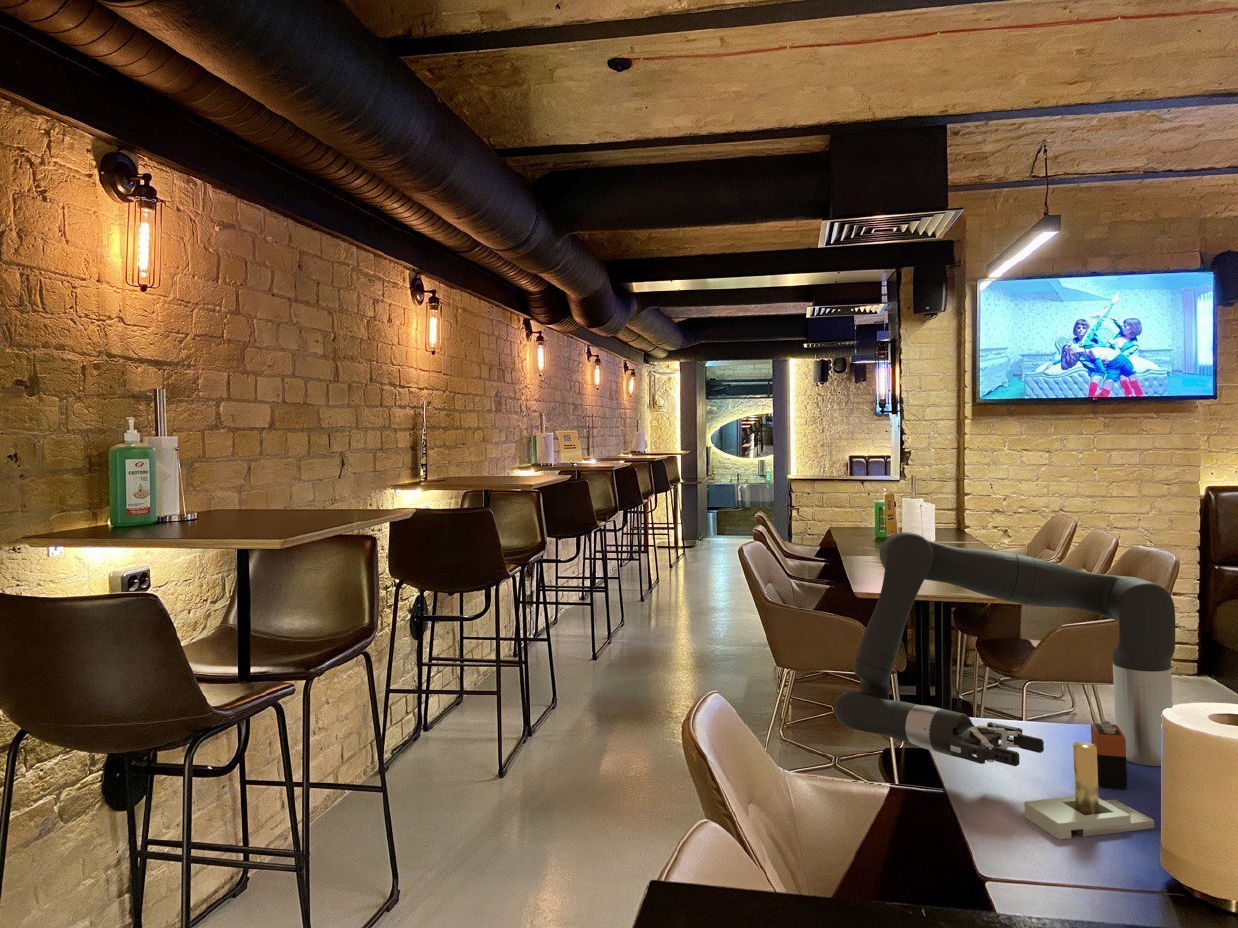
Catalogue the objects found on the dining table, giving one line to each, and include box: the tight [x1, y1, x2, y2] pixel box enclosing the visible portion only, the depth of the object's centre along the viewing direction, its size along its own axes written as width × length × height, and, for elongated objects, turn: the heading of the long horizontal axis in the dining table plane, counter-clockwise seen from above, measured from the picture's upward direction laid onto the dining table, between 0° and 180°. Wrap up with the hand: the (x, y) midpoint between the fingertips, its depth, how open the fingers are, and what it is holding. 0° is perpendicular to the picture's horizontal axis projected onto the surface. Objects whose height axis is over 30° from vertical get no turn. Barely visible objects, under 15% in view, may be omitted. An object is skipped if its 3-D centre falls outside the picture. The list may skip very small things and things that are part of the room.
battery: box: [1090, 720, 1128, 790], centre depth 142 cm, size 4×7×10 cm, turn 158°
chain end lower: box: [1073, 798, 1155, 837], centre depth 128 cm, size 12×8×1 cm, turn 99°
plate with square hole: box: [1023, 795, 1131, 840], centre depth 127 cm, size 12×8×2 cm, turn 99°
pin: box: [1072, 741, 1100, 815], centre depth 127 cm, size 3×3×12 cm
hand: (1030, 752), depth 134 cm, fingers open, 8 cm apart
